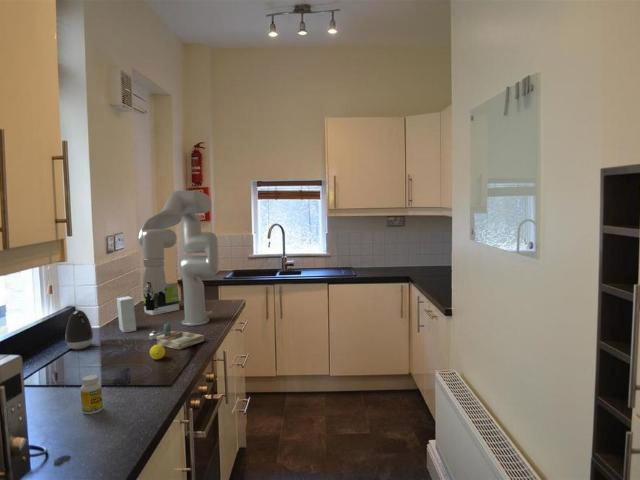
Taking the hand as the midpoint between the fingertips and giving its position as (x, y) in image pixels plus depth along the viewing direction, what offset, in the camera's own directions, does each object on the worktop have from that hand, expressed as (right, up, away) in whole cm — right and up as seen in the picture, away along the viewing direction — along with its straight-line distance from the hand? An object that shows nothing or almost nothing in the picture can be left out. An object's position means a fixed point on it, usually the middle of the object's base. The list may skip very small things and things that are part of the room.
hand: (156, 307), depth 192 cm
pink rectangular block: (0, -16, +19) cm, 25 cm away
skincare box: (-24, -15, +35) cm, 45 cm away
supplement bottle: (-1, -22, -51) cm, 56 cm away
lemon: (+3, -18, -7) cm, 20 cm away
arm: (+4, -16, +13) cm, 21 cm away
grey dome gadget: (-34, -18, +10) cm, 40 cm away
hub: (-7, -16, +20) cm, 26 cm away
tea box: (-20, -12, +70) cm, 74 cm away
